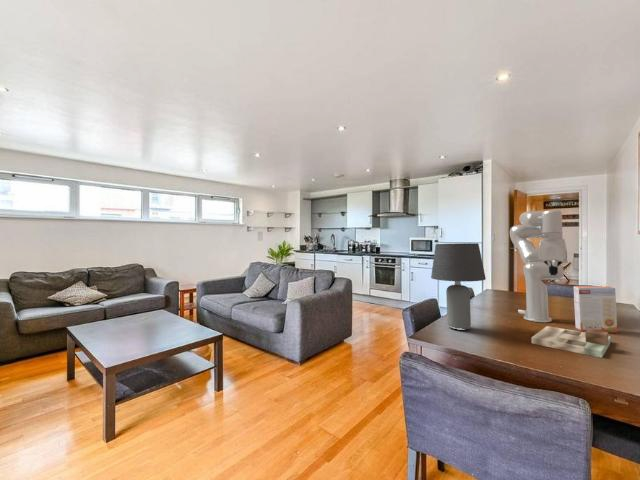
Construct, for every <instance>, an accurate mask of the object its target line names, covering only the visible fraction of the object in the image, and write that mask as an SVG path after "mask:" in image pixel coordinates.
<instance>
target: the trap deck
mask: <svg viewBox="0 0 640 480" xmlns="http://www.w3.org/2000/svg"><path fill="white" fill-rule="evenodd" d="M585 332H586V331H580V330H579V331H578V330H573V329H566V328H559V327H553V326H550V325H549V326H548V325H546V326H545V327H543V329H541V330H539V331H538V332H536V333H535V334H534V335H533V336H531V339H530V340H531V344H533V345H537V346H543V347H547V348H552V349H557V350H563V351H565V352H571V353H576V354H580V355H581V354H582V355H586V356H590V355H591V357H596V358H602V359H603V358H604V355H605V353H606V351H607V350H608V348H609V347H610V345H611V343H612V337H611V336H609V335H608V344H607V345H606V346H605V345H600V344H594V343H589V342H586V336H585Z"/></svg>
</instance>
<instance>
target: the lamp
mask: <svg viewBox="0 0 640 480" xmlns="http://www.w3.org/2000/svg"><path fill="white" fill-rule="evenodd" d="M434 246H435V247H434V253H433V262H432V269H431V276H430V277H431V279H432V280H437V281H444V282H454V284H451V285H449V286H447V288H446V291H445V292H446V294H445V295H446V323H447V326H448V325H449V326H452V327H455V328H462V329H468V328H469V329H470V328H471V325H472V321H471V319H472V318H471V316H472V315H471V295H470V294H471V291H470V288H469V287H468V286H466V285H463V284H462V283H461V282H480V281H486V279H487V278H486V273H485V269H484V263H483V259H482V258H483V257H482V254H481V248H480V244H479V243H478V242H477V243H476V242H475V243H473V242H472V243H471V242H465V243H460V242H459V243H436V244H435V245H434ZM449 326H448V327H449ZM469 329H468V330H469Z"/></svg>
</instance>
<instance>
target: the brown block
mask: <svg viewBox="0 0 640 480" xmlns="http://www.w3.org/2000/svg"><path fill="white" fill-rule="evenodd" d="M584 332H585V336H586V342H589V343H594V344H600V345H605V346H606V345H607V344H608V336H609V332H603V331H596V330H590V329H588V330H587V331H584Z"/></svg>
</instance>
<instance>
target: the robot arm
mask: <svg viewBox="0 0 640 480" xmlns="http://www.w3.org/2000/svg"><path fill="white" fill-rule="evenodd" d="M518 220H519V223H520V224H517V225H513V226H511V227H510V229H509V238H510V240H511V242H512V244H513V245H514V246H515V248H516V249H517V250H518V253H519V256H520V259H521V260H522V261H521V262H523V263H524V265H523V269H522V270H523V275H524V279H525V293H526V294H525V297H526V301H525V302H526V303H525V304H526V309H524V310H523V309H518V311H517V312H518V313H519V314H520V315H523V319H524V320H526V321H529V322H537V323H551V322H553V318H551V317H549V303H548V302H549V296H548V295H549V293H548V287H547V285H546V284H545V283H544V282H543V281H542V280H560V279H562V278H563V277H564V276H565V272H564V271H565V270H564V267H563V265H562V264H567V263H568V262H569V261H568V252H567V250H568V249H567V244H566V239H565V238H564V237H563V213H562V211H561V210H558V209H552V210H551V209H550V210H531V211H530V210H529V211H525V212H522V213H521V214H520V215H519V218H518ZM529 239H540V240H539V245H538V246H539V247H538V248H536V246H535V244H534V243H533V242H532V241H530V240H529Z"/></svg>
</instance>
